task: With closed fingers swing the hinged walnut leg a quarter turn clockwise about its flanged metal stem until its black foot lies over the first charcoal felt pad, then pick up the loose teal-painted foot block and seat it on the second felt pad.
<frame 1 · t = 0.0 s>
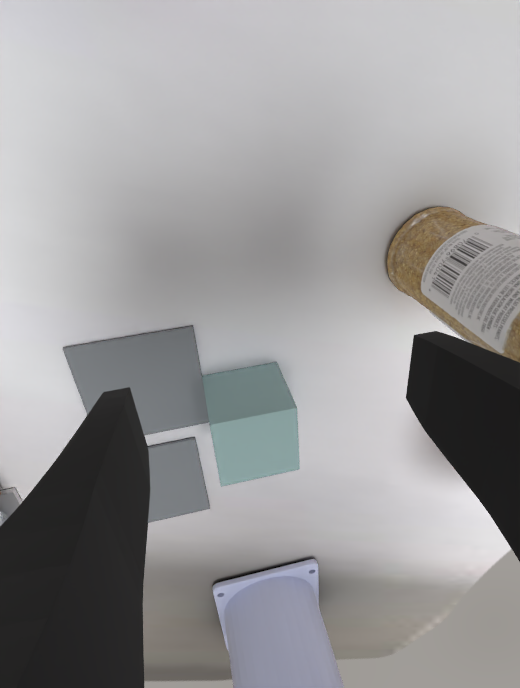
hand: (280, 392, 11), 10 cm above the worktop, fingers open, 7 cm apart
foot pad: (152, 484, 25), on the worktop
sprinkles bottle: (424, 249, 21), on the worktop
foot block: (243, 397, 23), on the worktop
seat pad: (143, 387, 22), on the worktop
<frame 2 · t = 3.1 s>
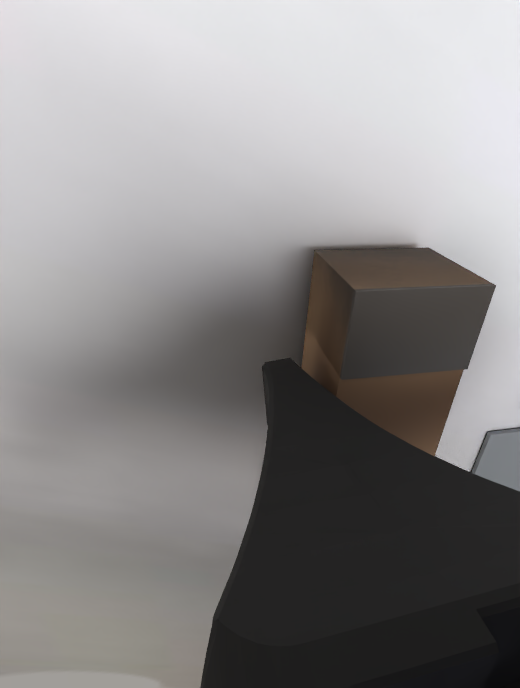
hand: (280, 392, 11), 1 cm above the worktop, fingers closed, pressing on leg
leg: (364, 482, 12), point 2 cm above the worktop, hinge at 0.0°, touching gripper
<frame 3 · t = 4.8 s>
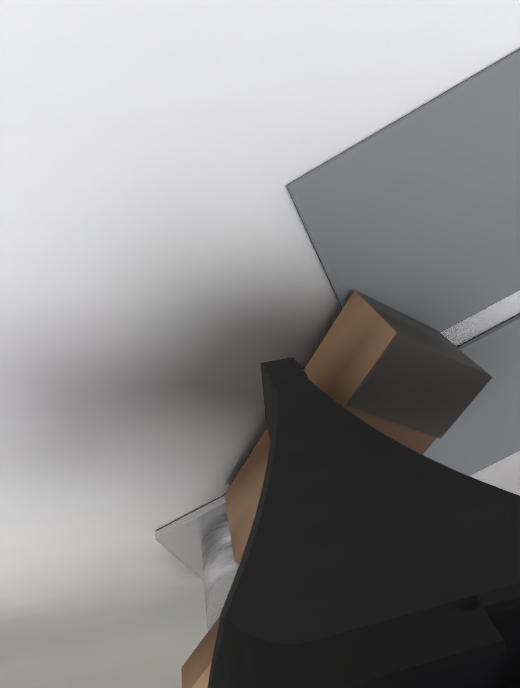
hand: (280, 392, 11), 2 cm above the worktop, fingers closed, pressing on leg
leg: (306, 513, 12), point 2 cm above the worktop, hinge at -55.8°, touching gripper
foot pad: (456, 419, 15), on the worktop
flanged metal stem: (233, 534, 16), on the worktop
seat pad: (434, 231, 11), on the worktop
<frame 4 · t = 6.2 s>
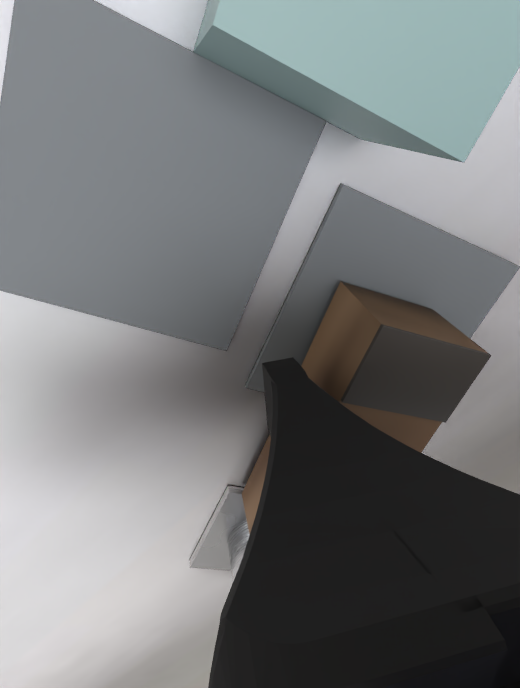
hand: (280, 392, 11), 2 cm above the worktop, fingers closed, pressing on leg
leg: (320, 507, 12), point 2 cm above the worktop, hinge at -87.0°, touching gripper
foot pad: (379, 325, 12), on the worktop
flanged metal stem: (258, 530, 16), on the worktop
seat pad: (148, 202, 9), on the worktop
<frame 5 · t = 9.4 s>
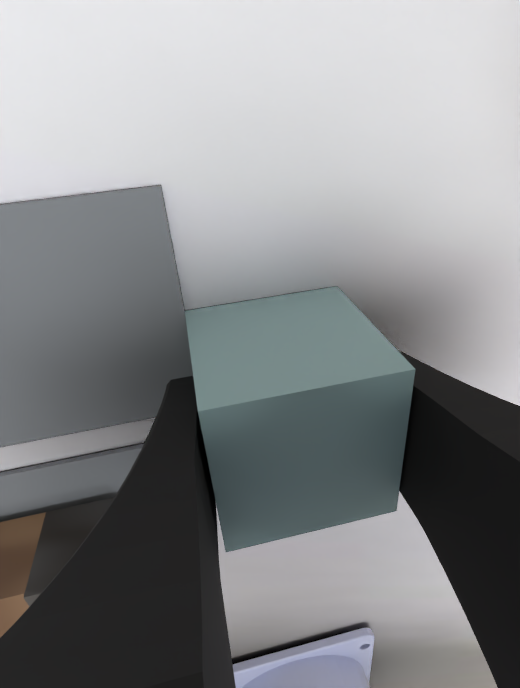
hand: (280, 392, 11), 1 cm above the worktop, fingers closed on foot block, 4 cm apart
foot pad: (97, 525, 14), on the worktop
foot block: (268, 362, 12), on the worktop, touching gripper
seat pad: (59, 331, 10), on the worktop
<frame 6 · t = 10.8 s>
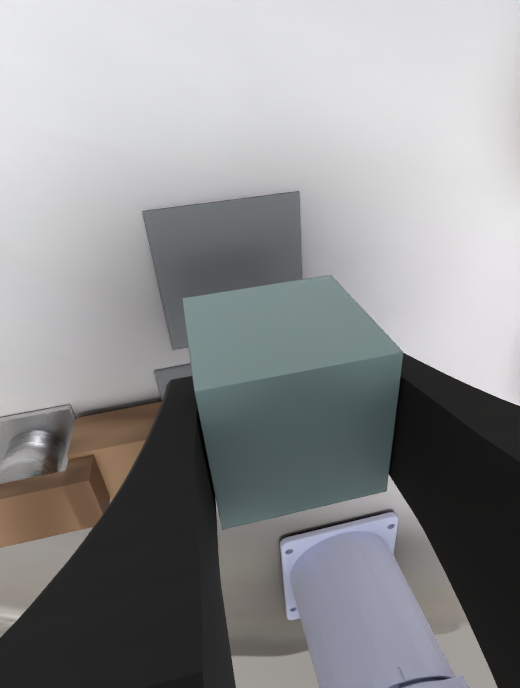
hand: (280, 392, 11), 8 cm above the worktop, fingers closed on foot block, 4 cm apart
leg: (122, 463, 19), point 2 cm above the worktop, hinge at -89.9°
foot pad: (227, 408, 21), on the worktop
foot block: (263, 350, 12), point 6 cm above the worktop, touching gripper
flanged metal stem: (38, 445, 20), on the worktop
seat pad: (231, 274, 18), on the worktop
when the fingers open (3 cm above the worktop, at t = 12.1 s): foot block drops 1 cm, resting on seat pad.
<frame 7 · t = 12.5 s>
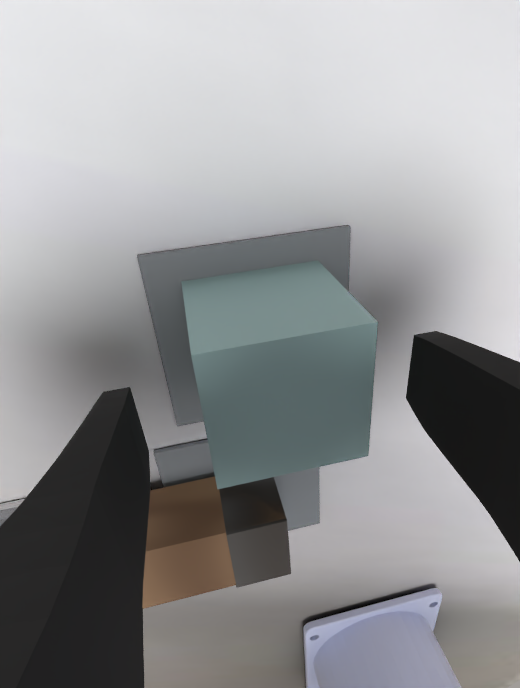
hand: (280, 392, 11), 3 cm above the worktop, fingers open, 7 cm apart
leg: (111, 575, 14), point 2 cm above the worktop, hinge at -89.9°
foot pad: (245, 489, 17), on the worktop
foot block: (256, 331, 13), resting on seat pad
seat pad: (255, 332, 13), on the worktop
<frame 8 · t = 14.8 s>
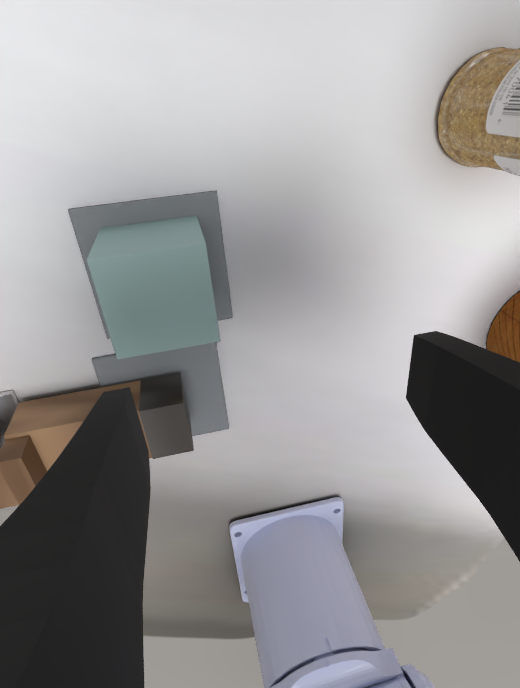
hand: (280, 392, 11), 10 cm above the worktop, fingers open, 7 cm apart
leg: (60, 444, 20), point 2 cm above the worktop, hinge at -89.9°
foot pad: (166, 395, 23), on the worktop
sprinkles bottle: (479, 109, 19), on the worktop
foot block: (158, 266, 19), resting on seat pad
seat pad: (158, 268, 19), on the worktop
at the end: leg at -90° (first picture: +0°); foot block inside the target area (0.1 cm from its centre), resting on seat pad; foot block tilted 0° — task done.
